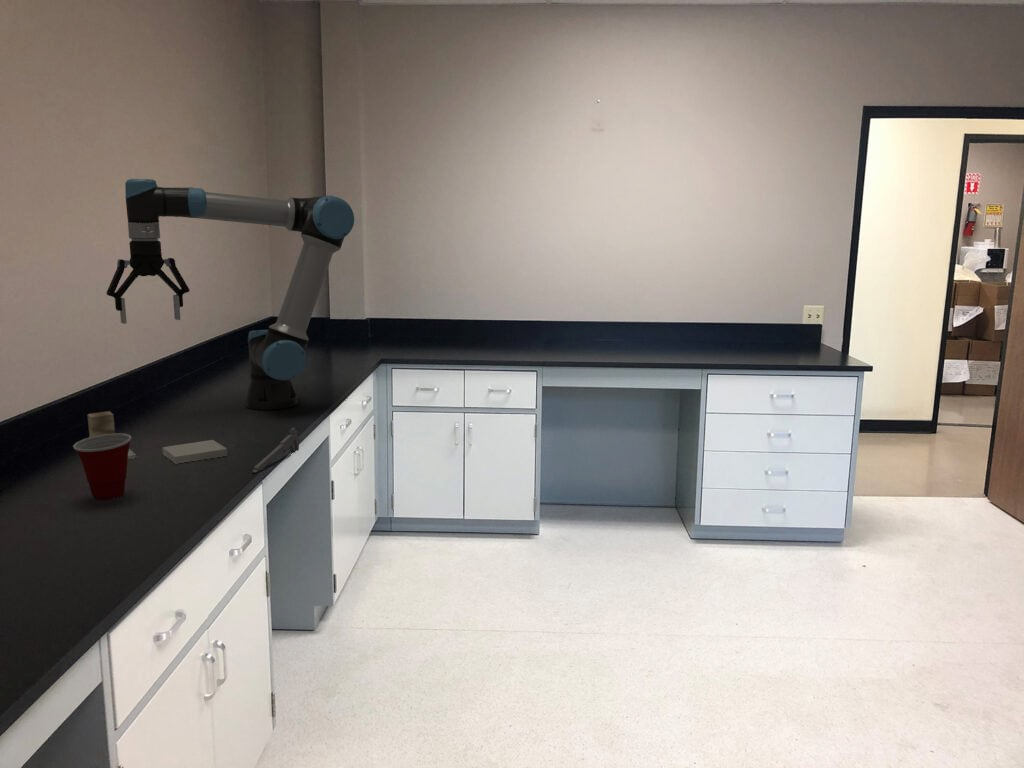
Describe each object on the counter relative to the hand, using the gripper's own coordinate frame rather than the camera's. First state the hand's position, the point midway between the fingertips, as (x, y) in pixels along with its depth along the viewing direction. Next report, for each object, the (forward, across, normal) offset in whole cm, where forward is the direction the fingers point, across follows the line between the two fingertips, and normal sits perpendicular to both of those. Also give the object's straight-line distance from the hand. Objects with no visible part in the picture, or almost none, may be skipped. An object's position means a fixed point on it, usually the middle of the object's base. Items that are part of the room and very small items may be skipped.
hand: (151, 321), depth 227 cm
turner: (+29, -17, -17) cm, 38 cm away
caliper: (+29, +12, -50) cm, 59 cm away
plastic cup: (+29, -25, -54) cm, 66 cm away
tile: (+28, -1, -29) cm, 40 cm away
